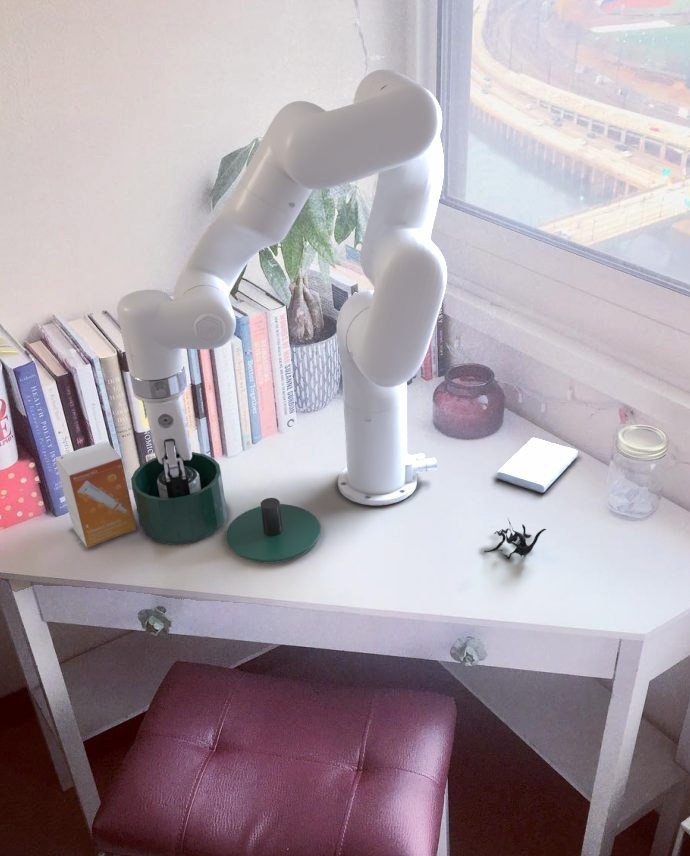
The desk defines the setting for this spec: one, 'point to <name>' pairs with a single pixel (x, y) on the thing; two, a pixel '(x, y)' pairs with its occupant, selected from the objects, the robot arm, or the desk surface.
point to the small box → (96, 493)
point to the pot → (180, 503)
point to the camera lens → (192, 480)
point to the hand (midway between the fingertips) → (177, 483)
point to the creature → (522, 546)
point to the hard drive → (537, 465)
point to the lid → (273, 532)
